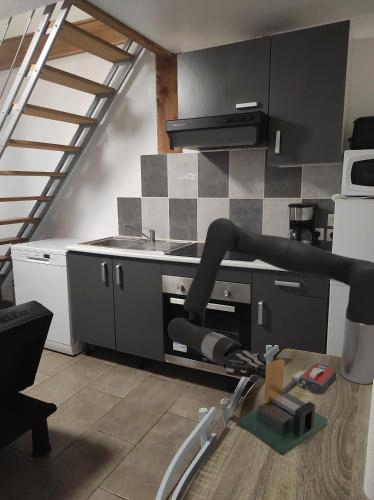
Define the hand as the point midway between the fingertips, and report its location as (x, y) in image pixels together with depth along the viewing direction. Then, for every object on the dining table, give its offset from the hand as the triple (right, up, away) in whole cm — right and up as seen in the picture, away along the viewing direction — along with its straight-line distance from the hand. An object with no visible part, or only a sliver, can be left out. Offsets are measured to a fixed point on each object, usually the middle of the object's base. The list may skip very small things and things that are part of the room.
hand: (272, 376), depth 85 cm
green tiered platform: (+2, -10, -1) cm, 11 cm away
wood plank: (+2, -6, -2) cm, 7 cm away
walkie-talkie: (+14, -8, +15) cm, 22 cm away
